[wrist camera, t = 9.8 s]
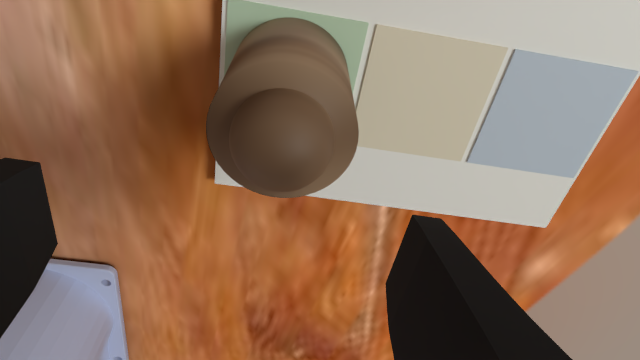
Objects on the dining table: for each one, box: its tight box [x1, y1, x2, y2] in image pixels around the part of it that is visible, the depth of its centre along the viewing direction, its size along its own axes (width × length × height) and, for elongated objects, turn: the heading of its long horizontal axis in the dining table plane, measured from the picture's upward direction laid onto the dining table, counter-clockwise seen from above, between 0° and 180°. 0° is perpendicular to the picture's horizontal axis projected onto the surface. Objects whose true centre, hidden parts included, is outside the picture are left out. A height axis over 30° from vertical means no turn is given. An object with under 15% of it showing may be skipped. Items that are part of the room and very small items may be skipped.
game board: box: [215, 0, 640, 228], centre depth 17 cm, size 11×16×1 cm
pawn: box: [206, 17, 359, 198], centre depth 14 cm, size 4×4×6 cm
